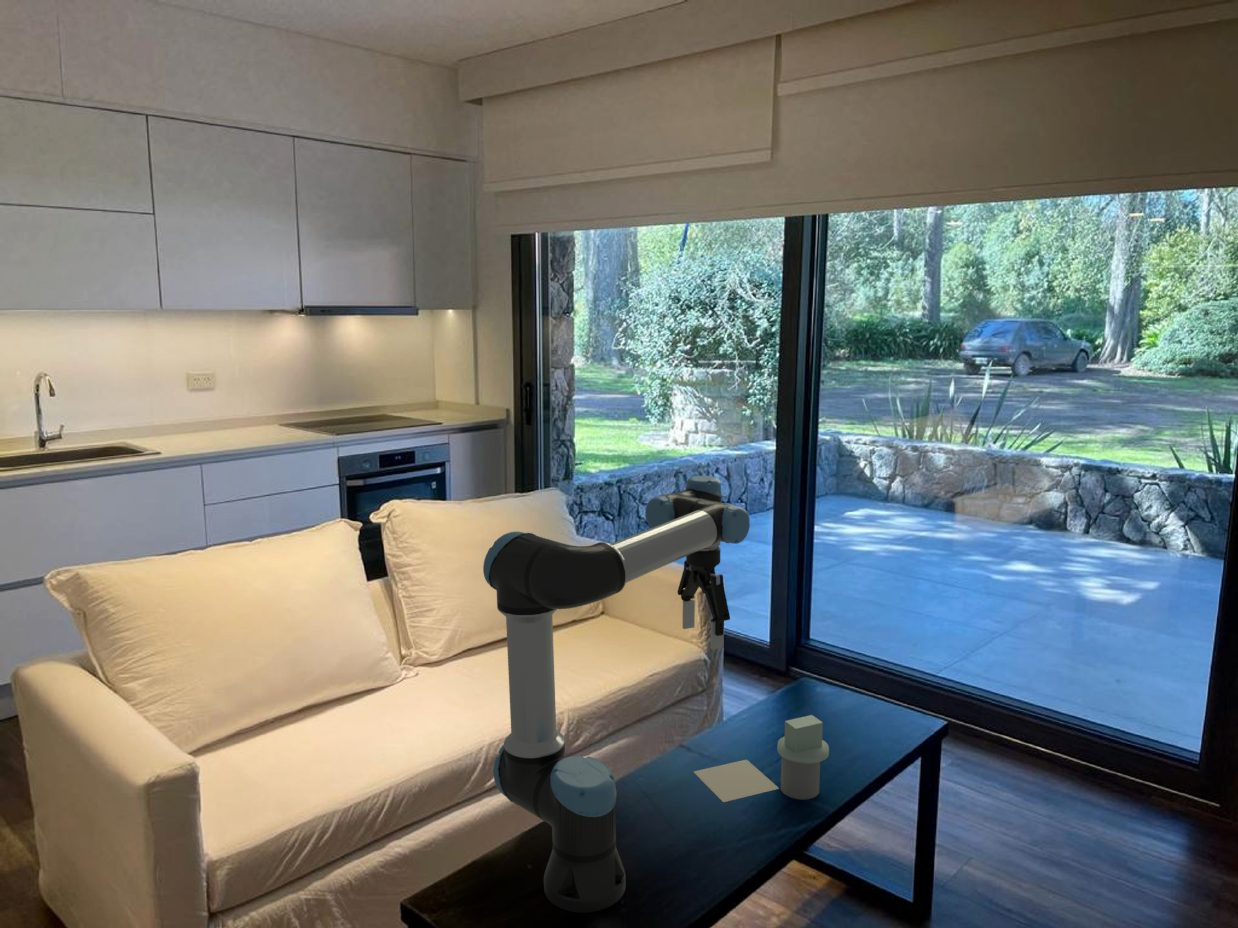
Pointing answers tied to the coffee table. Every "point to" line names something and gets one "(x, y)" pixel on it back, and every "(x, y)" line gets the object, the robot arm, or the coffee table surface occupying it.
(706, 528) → the robot arm
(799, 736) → the lid
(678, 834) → the coffee table surface
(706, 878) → the coffee table surface
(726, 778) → the mat
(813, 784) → the cup
